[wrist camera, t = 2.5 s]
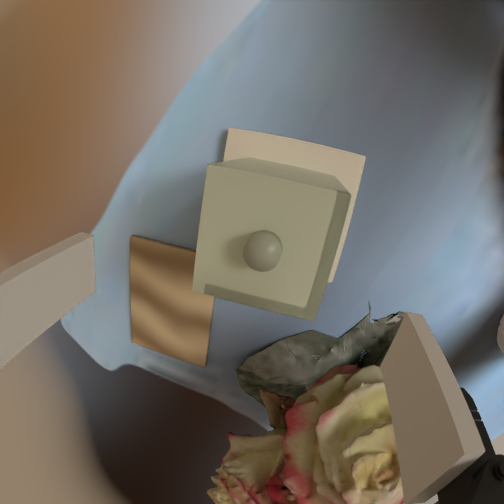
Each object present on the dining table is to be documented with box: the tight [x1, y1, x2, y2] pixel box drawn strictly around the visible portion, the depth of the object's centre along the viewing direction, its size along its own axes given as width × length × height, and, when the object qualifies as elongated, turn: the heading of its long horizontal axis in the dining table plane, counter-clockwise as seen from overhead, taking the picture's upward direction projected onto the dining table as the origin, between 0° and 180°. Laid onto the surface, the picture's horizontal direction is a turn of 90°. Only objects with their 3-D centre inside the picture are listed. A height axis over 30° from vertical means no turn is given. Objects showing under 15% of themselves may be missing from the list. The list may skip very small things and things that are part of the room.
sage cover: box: [192, 157, 352, 321], centre depth 22 cm, size 8×8×13 cm
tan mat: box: [130, 235, 215, 367], centre depth 36 cm, size 16×11×1 cm
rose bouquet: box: [207, 303, 438, 504], centre depth 22 cm, size 26×29×30 cm
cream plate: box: [223, 127, 366, 283], centre depth 27 cm, size 13×13×3 cm
